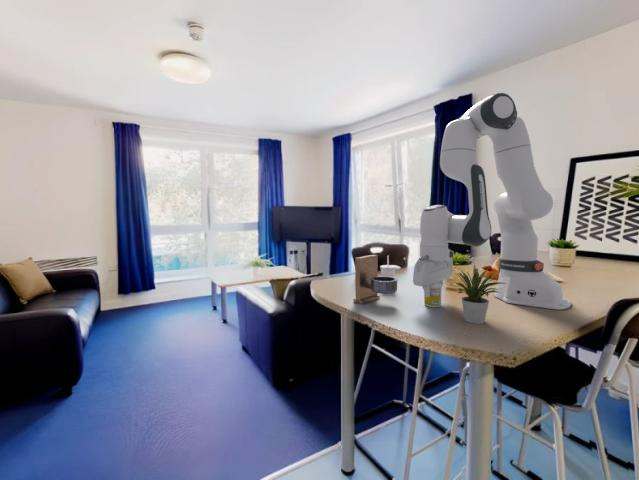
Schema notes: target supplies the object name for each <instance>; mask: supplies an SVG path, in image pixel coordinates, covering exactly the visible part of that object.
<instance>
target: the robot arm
mask: <svg viewBox="0 0 639 480" xmlns="http://www.w3.org/2000/svg"><path fill="white" fill-rule="evenodd" d="M484 136H488V137H489V138H490V140H491V142H492V149H493V156H494V162H495V169H496V174H497V177H498V178H499V179H500V181H501V182H502V185H503V186H504V189H505V191H504V192H503V193H500V194H499V195H498V196H497V197H496V198H495V199H494V203H493V209H494V211H495V213H496V215H497V220H498V225H499V227H498V228H499V231H500V257H499V258H498V264H497V265H498V267H497V270H498V273H499V274H498V276H502V277H498V278H497V282H501V283H505V284H496V288H495V289H497V290H495V291H498V290H499V291H498V292H499V293H498V292H493V293H494V294H493V296H494V297H496V298H497V299H500V300H502V301H503V302H504V303H507V304H513V305H514V304H515V305H519V306H520V305H522V306H528V307H536V308H542V309H550V310H551V309H552V310H557V311H558V310H560V311H561V310H566V309H568V308H570V307H571V306H572V301H571V300H570V299H568V298H566V297H564V293H563V289H562V286H561V284H560V283H559V282H558V281H556V280H555V279H553V277H551V276H550V275H548V274H547V273H546V272H545V271H544V266H545V265H544V264H545V262H542V261H540V260H539V259H537V258H538V246H539V245H538V243H539V242H538V241H539V238H538V235H537V234H536V232H535V230H534V227H533V223H532V222H533V221H535V220H539V219H542V218H544V217H546V216H547V215H548V214H549V213H551V211H552V210H553V207H554V206H553V205H554V199H553V197H552V195H551V193H549V192H548V191H547V190H546V189H545V188H544V186H543V184H542V181H541V179H540V177H539V176H538V173H537V171H536V167H535V164H534V163H535V162H534V157H533V152H532V145H531V140H530V139H531V138H530V134H529V132H528V129H527V126H526V124H525V121H524V119H522V117H520V116H518V111H517V107H516V104H515V101H514V100H513V98H512V97H511V96H510V95H509V94H508V93H505V92H500V93H498V92H497V93H493V94H491V95H489V96H487V97H485V98H483V99H482V100H480V101H478V102H477V103H475V104H474V105H472V107H470V108H469V109H468V110H466V111H464V112H463V114H461V116H460V117H459V118H456V119H455V120H452V121H450V122H449V123H448V124H447V125H446V126H445V129H444V132H443V137H442V141H441V149H440V158H439V166H440V170H441V171H442V173H443V174H444V175H445V176H446V177H448V178H450V179H451V180H454V181H457V182H461V183H462V184H464V186H465V187H466V189H467V193H468V197H467V198H468V209H469V213H468V214H465V215H463V214H453V213H452V212H450V211H449V210H448V207H447V206H446V205H444V204H435V205H429V206H426V207H425V208H423V209H422V212H421V217H420V223H419V225H420V226H419V233H420V243H419V257H418V259H417V261H416V262H415V263H414V267H413V274H412V283H413V285H414V286H417V287H422V289H423V292H424V294H423V296H425V297H431V291H430V288H429V287H430V284H432V283H435V282H437V278H440V281H439V283H440V284H441V286H442V287H443V286H444V280H447V279H449V278H451V277H452V274H453V264H454V261H453V258H454V257H455V252H454V250H451V249H450V248H449V244H448V243H452V244H459V245H465V246H470V247H475V248H476V247H480V246H482V245H484V244H485V243H486V242H487V241H488V240H490V238H491V235H492V225H491V220H490V217H489V207H488V196H487V184H486V175H485V171H484V169H483V167H482V166H481V165H478V162H477V158H476V157H477V155H476V154H477V153H476V152H477V140H478V139H479V138H481V137H484ZM498 288H499V289H498Z"/></svg>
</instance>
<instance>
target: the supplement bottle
mask: <svg viewBox="0 0 639 480" xmlns="http://www.w3.org/2000/svg"><path fill="white" fill-rule="evenodd" d="M439 281H440V278H437V282H435V283H432V284H430V287H429V288H430V291H431V297H425V296H424V295H423V296H424V305H425V306H426V307H429V308H439V307H441V306H442V290H443V289H442V287H443V285H442V286H441V284H440V283H439Z"/></svg>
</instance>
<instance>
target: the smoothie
mask: <svg viewBox="0 0 639 480" xmlns="http://www.w3.org/2000/svg"><path fill="white" fill-rule="evenodd" d="M386 258H387V259H386V261H387V262H386V263H387V264H382V265H380V266H379V269H380V271H381V272H380V274H381V276H388V277H394V278H395V275H396V270H397V266H396V265H392V264H389V263H390V259H389V258H390V255H387V256H386Z"/></svg>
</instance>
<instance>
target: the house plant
mask: <svg viewBox="0 0 639 480" xmlns="http://www.w3.org/2000/svg"><path fill="white" fill-rule="evenodd" d="M489 268H490V267H487V268H486V269H485V270H484V271H483V272H482V273H481V274H479V269H478V268H477V267H476V265H475V264H474V265H473V271H472V272H473V273H472V274H473V275H472V278H471V275H470V273H469V272H468V271H466V272H465V270H464V269H462V270H460V272H459V271H458V273H457V272H456V275H457V276H458V277H459V278H460V280H461V281H462V282H463V283H461V282H457V283H455V284H456V285H458V286H460V287H461V288H458V290H457V292H458V294H462V293H465V294H466V295H467V296H464V297H461V303H462V310H463V311H462V312H463V318H464V320H465V322H468V323H470V324H475V325H476V324H477V325H480V324H482V325H483V324H484V323H485V321H486V317H487V312H488V308H489V302H490V300H489V299H487V298H489V294H490V293H495V292H498V291H499V290H498V291H496V290H497V289H496V288H493V287H491V286H495V285H496V286H497V284H505V283H501V282H498V281H496V282H494V281H493V280H495V276H494V275H496V274H498V271H496V272H492V273H491V274H489V275H488V276H487V277H486V278H484V277H485V274H486V273H487V272H488V271H489ZM499 277H502V276H499V275H497V276H496V278H499ZM483 278H484V279H483ZM491 281H493V282H491ZM498 289H499V288H498ZM498 293H499V292H498ZM485 296H486V297H487V298H485Z"/></svg>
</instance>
